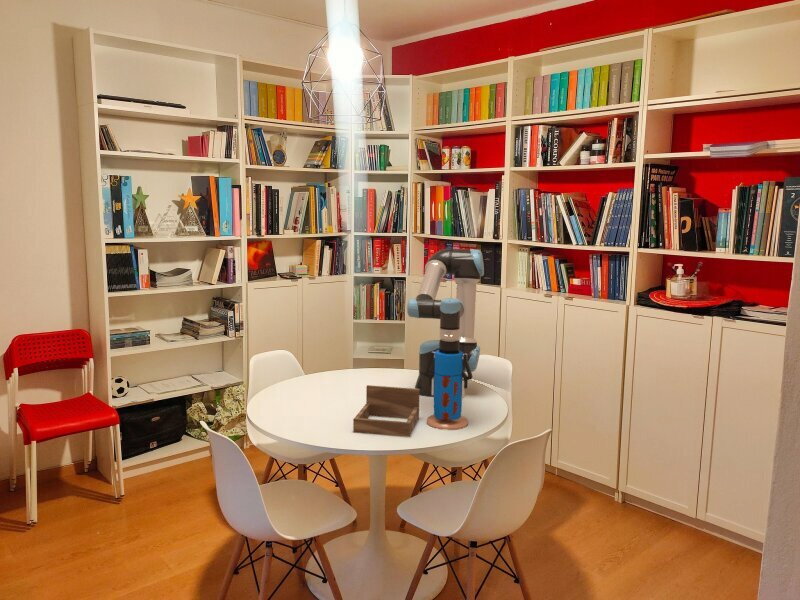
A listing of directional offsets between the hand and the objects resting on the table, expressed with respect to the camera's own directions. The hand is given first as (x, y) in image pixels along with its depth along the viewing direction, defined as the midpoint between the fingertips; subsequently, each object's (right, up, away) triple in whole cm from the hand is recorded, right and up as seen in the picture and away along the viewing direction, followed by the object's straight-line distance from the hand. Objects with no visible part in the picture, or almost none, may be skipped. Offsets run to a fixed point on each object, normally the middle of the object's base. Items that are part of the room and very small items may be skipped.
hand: (447, 395), depth 247 cm
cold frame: (-23, -11, -2) cm, 26 cm away
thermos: (0, -8, +1) cm, 8 cm away
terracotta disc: (0, -11, +2) cm, 11 cm away
